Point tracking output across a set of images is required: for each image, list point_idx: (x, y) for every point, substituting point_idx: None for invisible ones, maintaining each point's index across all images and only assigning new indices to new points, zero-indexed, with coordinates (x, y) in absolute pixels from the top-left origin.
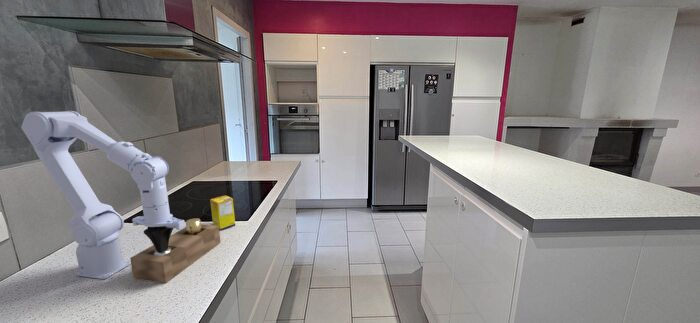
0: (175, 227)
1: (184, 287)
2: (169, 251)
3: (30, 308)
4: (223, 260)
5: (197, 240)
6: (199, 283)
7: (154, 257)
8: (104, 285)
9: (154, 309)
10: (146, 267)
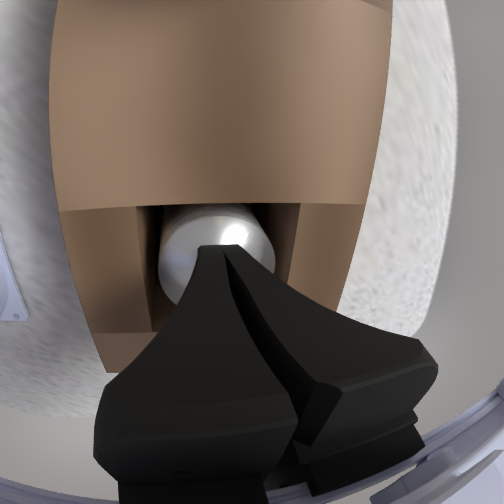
0: (471, 416)
1: (360, 280)
2: (273, 260)
3: (33, 403)
4: (423, 98)
5: (383, 72)
6: (396, 252)
7: None
8: (67, 335)
9: None
10: None
